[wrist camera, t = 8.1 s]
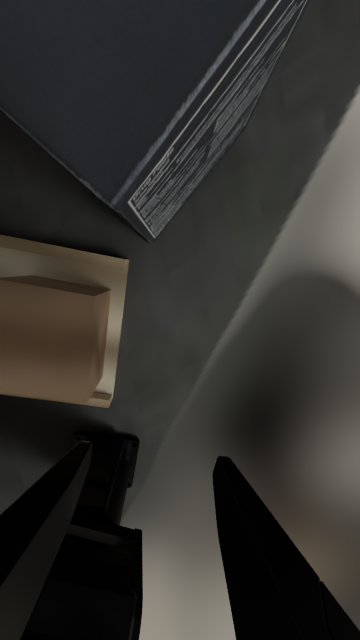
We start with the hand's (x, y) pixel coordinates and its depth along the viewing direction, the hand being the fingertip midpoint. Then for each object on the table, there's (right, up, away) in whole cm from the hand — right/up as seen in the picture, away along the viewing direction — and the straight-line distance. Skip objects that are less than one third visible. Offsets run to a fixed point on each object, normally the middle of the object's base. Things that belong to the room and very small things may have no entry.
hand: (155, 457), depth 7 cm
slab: (-8, +4, +9) cm, 13 cm away
